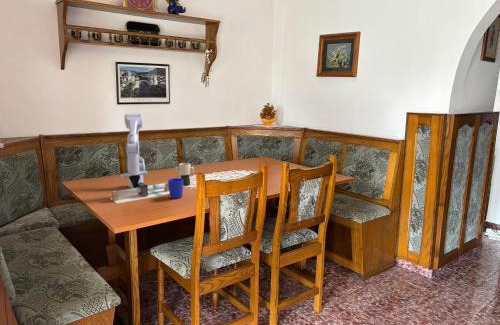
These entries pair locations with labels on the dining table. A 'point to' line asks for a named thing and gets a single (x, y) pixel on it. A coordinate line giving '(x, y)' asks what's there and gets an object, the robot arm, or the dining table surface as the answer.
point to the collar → (143, 189)
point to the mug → (175, 187)
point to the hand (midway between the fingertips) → (135, 188)
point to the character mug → (185, 172)
